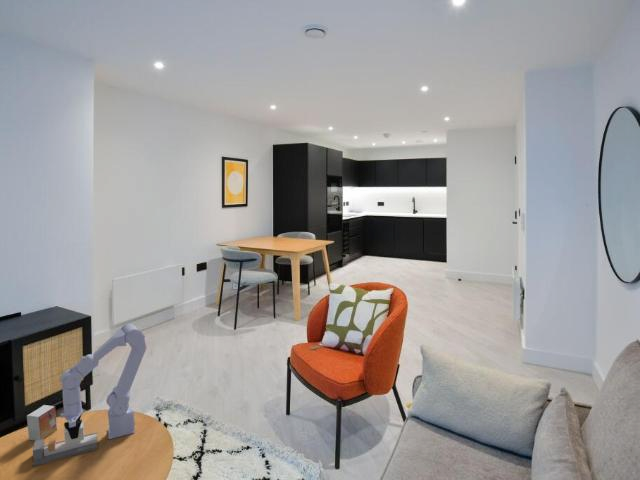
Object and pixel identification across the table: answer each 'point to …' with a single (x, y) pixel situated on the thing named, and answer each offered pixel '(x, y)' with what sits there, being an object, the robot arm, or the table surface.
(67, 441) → the block
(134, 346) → the robot arm
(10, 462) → the table surface
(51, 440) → the orange block
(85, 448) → the rail board
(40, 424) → the small box
